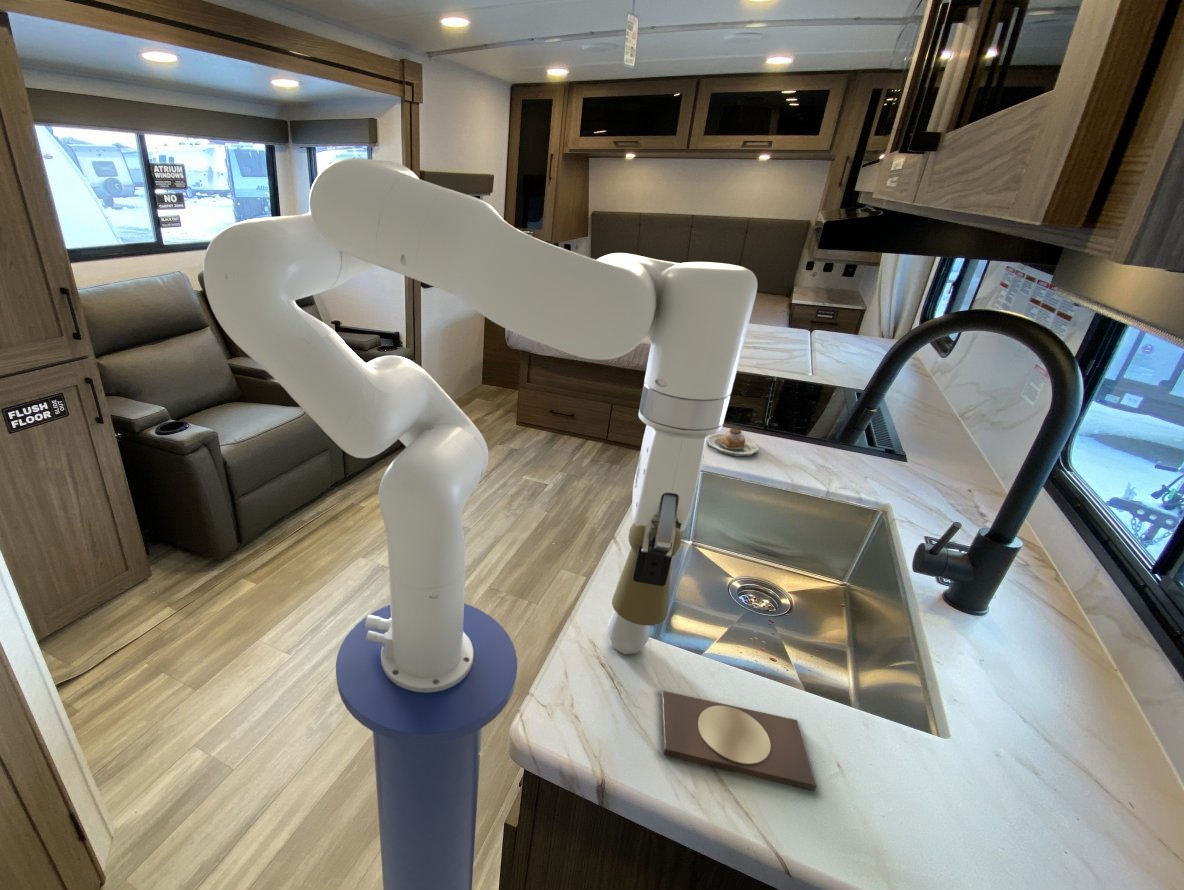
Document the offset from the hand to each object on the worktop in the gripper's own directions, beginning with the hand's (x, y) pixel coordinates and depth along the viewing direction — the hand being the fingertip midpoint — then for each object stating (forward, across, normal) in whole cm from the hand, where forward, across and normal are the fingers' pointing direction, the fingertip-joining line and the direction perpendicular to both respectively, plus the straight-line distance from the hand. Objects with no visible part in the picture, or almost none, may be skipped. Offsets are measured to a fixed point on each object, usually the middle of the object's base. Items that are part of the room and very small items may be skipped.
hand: (648, 564), depth 61 cm
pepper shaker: (+6, 0, 0) cm, 6 cm away
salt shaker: (+23, -13, +1) cm, 26 cm away
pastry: (+23, -92, +25) cm, 99 cm away
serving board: (+23, 0, +14) cm, 27 cm away
